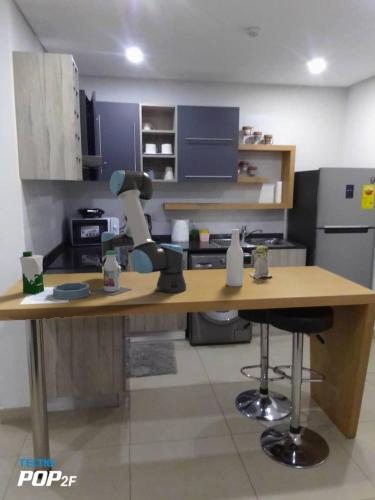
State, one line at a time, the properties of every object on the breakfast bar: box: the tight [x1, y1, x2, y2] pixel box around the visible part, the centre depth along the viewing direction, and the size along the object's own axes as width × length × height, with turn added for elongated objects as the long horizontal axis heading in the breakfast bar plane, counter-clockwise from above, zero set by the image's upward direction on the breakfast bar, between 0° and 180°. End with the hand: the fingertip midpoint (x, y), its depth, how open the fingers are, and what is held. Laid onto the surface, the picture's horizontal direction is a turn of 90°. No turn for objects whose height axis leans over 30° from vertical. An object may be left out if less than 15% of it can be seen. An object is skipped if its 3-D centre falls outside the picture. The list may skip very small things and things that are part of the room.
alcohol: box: [225, 228, 244, 287], centre depth 191 cm, size 9×9×30 cm
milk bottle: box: [103, 250, 121, 292], centre depth 179 cm, size 8×8×20 cm
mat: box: [91, 286, 132, 297], centre depth 181 cm, size 14×14×1 cm
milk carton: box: [19, 251, 45, 295], centre depth 176 cm, size 9×9×20 cm
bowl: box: [52, 281, 92, 301], centre depth 174 cm, size 18×18×4 cm
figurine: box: [249, 245, 273, 280], centre depth 211 cm, size 12×13×18 cm
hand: (111, 271), depth 174 cm, fingers closed on milk bottle, 7 cm apart
